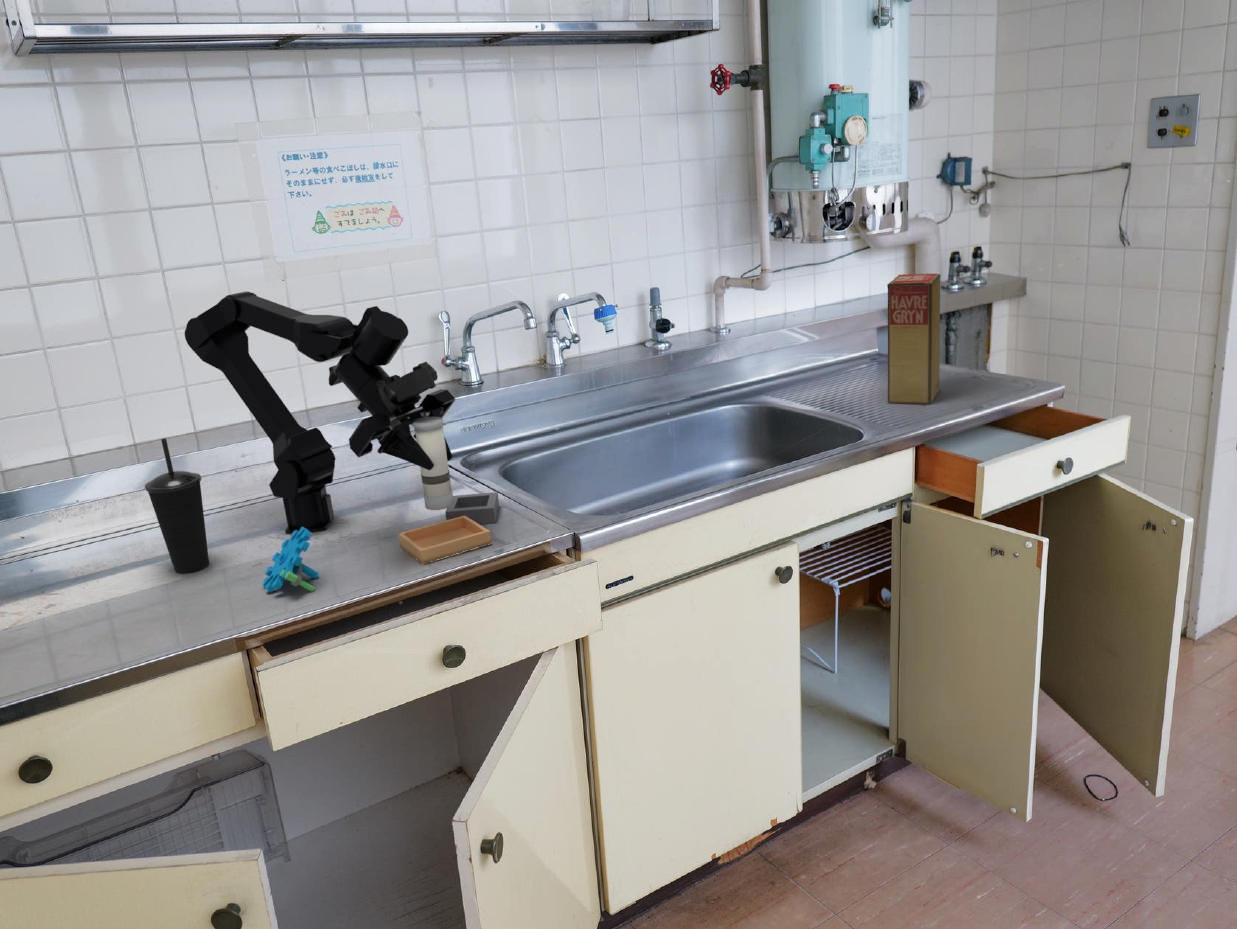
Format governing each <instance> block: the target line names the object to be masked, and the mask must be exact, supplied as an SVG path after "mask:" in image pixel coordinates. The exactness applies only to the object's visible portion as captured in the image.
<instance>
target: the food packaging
mask: <svg viewBox="0 0 1237 929" xmlns="http://www.w3.org/2000/svg"><path fill="white" fill-rule="evenodd" d="M941 276H942V275H941V274H940V273H914V274H913V273H908V274H906V273H905V274H898V275H897V276H896V277H894V278H893V280H891V281H890V282H889V283H887V285H886V286H887V404H894V405H895V404H897V405H927V406H928V405H929V406H930V405H932V403H933V402H934V400H935V398H936V397H937V396H938V395H939V393H940V370H941V369H940V365H941V364H940V362H941V361H940V360H941V359H940V358H941V357H940V356H941V355H940V352H941V351H940V350H941Z"/></svg>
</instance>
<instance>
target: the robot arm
mask: <svg viewBox="0 0 1237 929" xmlns="http://www.w3.org/2000/svg"><path fill="white" fill-rule="evenodd" d="M250 327H253V328H255V329H257V330H260V331H263V332H266V333H268V334H271V335H274V336H277V337H280V338H282V339H284V340H286V341H289V342H291V343H293V344H294V346H295V348H296V349H297V351H298V352H300V353H301V354H302V355H304V356H306V357H307V358H309V359H311V360H312V361H314V362H316V363H324V362H326V361H331V360H333V359H338V358H340V359H339V361H338V362H337V364H336V365H332V366H330V367H329V368H328V372H329V377H328V384H329V386H331V387H333V386H336V385H339V384H341V383H343V384H344V386H345V387H346V388H347V389H348V390H349V392H350V393H351V394H352V395H354V397H355V398H356V400H357V401H359V404H358V406H357V409H358V411H360V413H365V412H368V413H369V414H371V415H370V416H369V417H368V416H367V417H366V418H363V419H361V421H360V422H359V423H358V425H357V426H356V428H355V430H354V431H353V432H352V434H351V435H350V437H349V439H348V444H349V449H350V450H351V451H352V453H354V455H356V457H357V458H362V457H363V456H366V455H368V454H370V453H372V451H373V446H374V444H373V443H372V441H374V440H377V441H378V443H379V445H380V446H379V448H378V449H377V453H378V454H380V455H381V454H387V455H388V456H392V457H394V458H398V459H401V460H403V461H406V462H408V463H411V464H413V465H416V466H419V468H420V467H422V468H425V469H427V470H431V469H432V468H433V467H434V464H433V462H432V461H431V459H430V458H429V457H428V455H427V454H426V453H425V452H424V450H423V449H422V448H421V447H420V445H419V444H418V443H417V440H416V433H414V434H413V435H412V432H411V428H410V426H412V427H413V428H414V425H413V422H414V421H415V420H417V419H420V418H425V417H441V418H444V416H445V415H446V413H448V411H449V409H450V408H451V407H452V406H453V404H454V403H455V401H456V398H455V397H454V395H453V394H452V393H451V392H450V391H449V390H448V389H442V388H441V389H438V390H436V391H435V390H434V391H433V392H430V393H428V394H426V395H425V397H424V398H423V399H422V396H421V394H423V393H424V392H426V391H428V390H430V389H431V390H432V389H434V388H436V387H437V385H436V383H435V382H436V381H437V380H438V373H437V370H435V368H434V367H433V366H432V365H430V364H429V363H428V362H427V361H423V362H420V363H419V364H417V365H416V366H413V367H412V371H410V372H408V373H406V374H404V375H402V376H400V375H397V374H394V375H391V376H390V375H389V373H387V371H386V370H384V368H383V367H382V366H387V365H389V364H391V361H392V359H393V358H394V357H395V355H396V354H397V353H398V350H399V349H400V347H401V346H402V345H403V343H404V342H405V340H406V339H407V337H408V335H409V329H408V326H407V324H406V322H405V321H404V320H403V319H402V318H400V317H398V316H396V315H394V314H393V313H390V312H387V311H383V310H381V309H380V307H379V306H378V305H375V306H369V307H367V308H366V309H365V311H364V312H363V314H362V318H361V320H360V321H359V323H358V324H355V323H353V322H352V321H351V320H350V319H349V318H347V317H345V316H339V315H334V314H333V315H331V314H309V313H305V312H302V311H299V310H297V309H293V308H291V307H288V306H285V305H283V304H280V303H277V302H276V301H271V300H269V299H267V298H266V299H265V298H263V297H260V296H257V294H255V293H254V292H251V291H247V290H246V291H242V292H237V293H236V292H235V293H233V294H228V295H225V296H224V297H223V298H221V299H220V300H219V302H217V303H216V304H215V305H214V306H211V307H210V308H208V309H207V310H205V311H203V312H202V313H200V314H199V315H197V316H195V317H192V318H190V319H189V320H188V322H187V323H186V326H185V330H184V340H185V341H186V343H187V345H188V346H189V348H191V350H192V352H194V353H195V354H196V356H198V358H199V359H200V360H201V361H202V362H204V363H206V364H208V365H210V366H211V367H213V368H215V369H218V370H219V371H220V372H222V374H223V376H224V377H225V378H226V379H227V381H228V382H229V383H230V385H231V386H232V388H233V389H234V390H235V392H236V394H237V395H238V396H239V398H240V399H241V400H242V402H243V403H244V405H245V406H246V408H247V409H248V410H249V412H250V414H252V416H253V417H254V418H255V421H256V422H257V423H258V424H259V426H260V427H261V428H262V430H263V431H264V433H265V434H266V436H267V437H268V438H269V440H270V441H271V443H272V452H273V453H272V455H273V463H274V465H275V467H276V468H277V472H276V473H275V475H274V476H273V478H272V479H271V481H270V482H269V485H268V486H269V488H270V490H271V493H272V495H273V496H274V497H275V498H282V502H283V509H284V512H285V516H286V518H285V519H286V524H287V526H286V527H285V529H284V532H285V534H292V533H293V532H294V531H295V530H297V531H299V530H300V529H301V527H304V528H306V529H307V530H308V531H309V532H316V531H318V532H319V531H325V530H326V529H327V528H328V527H329V525H330V523H331V522H333V519H334V518H335V514H334V509H333V508H334V507H333V503H332V496H331V494H330V493H328V492H327V487H326V486H327V485H330V484H332V483H333V482H334V481H333V480H334V473H335V467H336V466H335V465H336V464H335V463H336V459H337V458H336V456H335V454H334V451H333V450H332V448H333V445H331V444H330V443H329V442H328V441H327V439H326V438H325V436H324V434H323V432H322V431H321V430H320V429H319V428H318V427H313V428H310V429H307V428H304V427H303V426H301V425H300V424H299V422H298V421H297V420H296V418H295V416H293V414H292V413H291V411H290V410H289V409H288V407H287V406H286V404H285V403H284V402H283V400H282V399H281V397H280V396H279V394H278V393H277V392H276V390H275V389H274V387H273V386H272V385H271V383H270V382H269V380H268V379H267V377H266V376H265V375H264V374H263V371H262V370H261V369H260V368H259V366H258V365H257V363H256V362H255V361H254V359H253V358H252V357H251V355H250V353H249V352H250V350H249V349H250V348H249V347H250V346H249V336H248V334H247V330H248V329H250ZM421 399H422V401H421V402H420V400H421ZM419 402H420V404H419V405H418V406H417V407H416V404H417V403H419ZM444 438H445V445H446V453H447V460H448V462H449V461H451V460H452V459H453V454H452V452H451V449H450V445H449V443H448V442H447V439H446V436H445V435H444Z"/></svg>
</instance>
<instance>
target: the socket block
mask: <svg viewBox="0 0 1237 929" xmlns="http://www.w3.org/2000/svg"><path fill="white" fill-rule="evenodd" d="M453 500H454V505H453V506H451V507H449V508H446V509H445V519H446V520H450V519H454V518H457V517H461V516H464V515H465V516H467V517H468V518H470V519H471V520H473V521H475V522H476V523H478V524H479V525H485V524H495V523H497V522H496V521H497V518H498V513H499V509H500V500H499V493H498V492H497V491H496V492H482V493H470V494H460V495H459V494H457V495H453ZM446 520H445V521H446Z"/></svg>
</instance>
